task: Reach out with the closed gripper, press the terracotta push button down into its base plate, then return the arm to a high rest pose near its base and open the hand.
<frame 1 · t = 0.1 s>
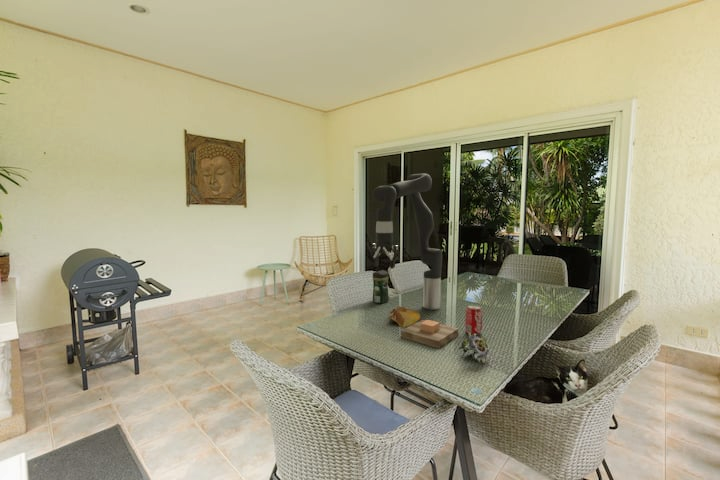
hand: (384, 267, 153), 29 cm above the table, tool pointing down, fingers open, 8 cm apart
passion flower: (472, 359, 127), on the table
soda can: (473, 333, 152), on the table
button plate: (429, 336, 148), on the table
coffee jar: (380, 301, 202), on the table
push button: (429, 326, 148), point 4 cm above the table, slide at 0.0 cm
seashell: (402, 322, 168), on the table
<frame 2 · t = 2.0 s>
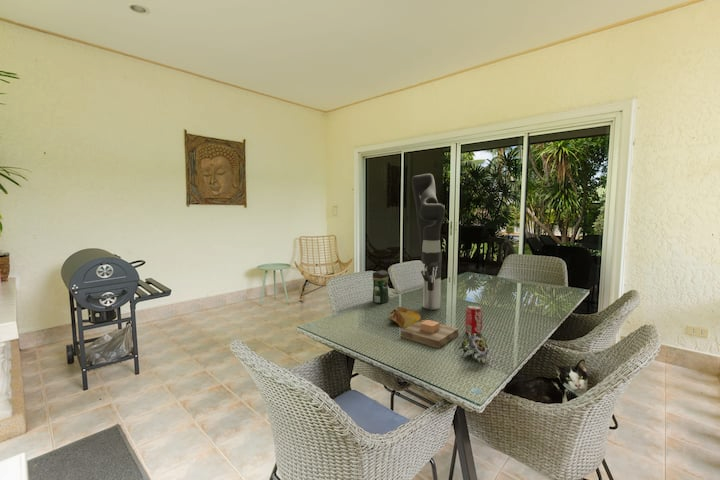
hand: (430, 290, 146), 20 cm above the table, tool pointing down, fingers closed
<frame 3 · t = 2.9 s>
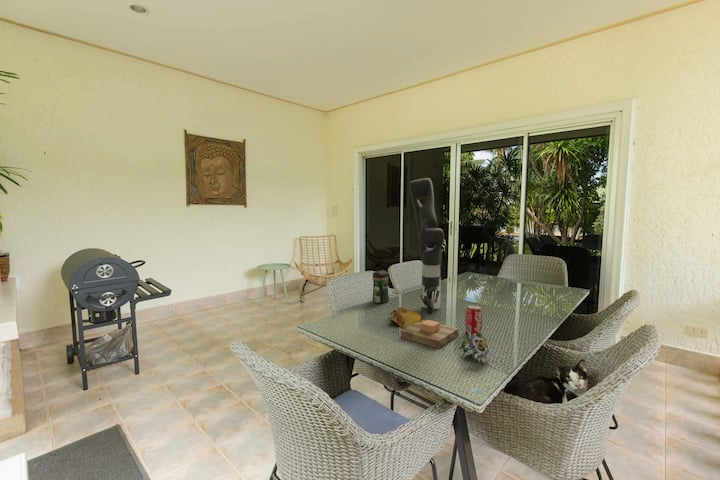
hand: (430, 313, 147), 10 cm above the table, tool pointing down, fingers closed
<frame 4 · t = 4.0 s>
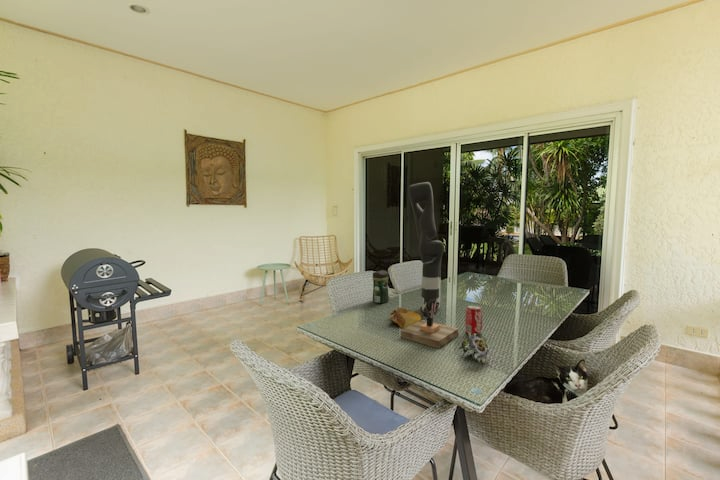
hand: (429, 325, 148), 5 cm above the table, tool pointing down, fingers closed
push button: (429, 329, 148), point 3 cm above the table, slide at 1.2 cm, touching gripper
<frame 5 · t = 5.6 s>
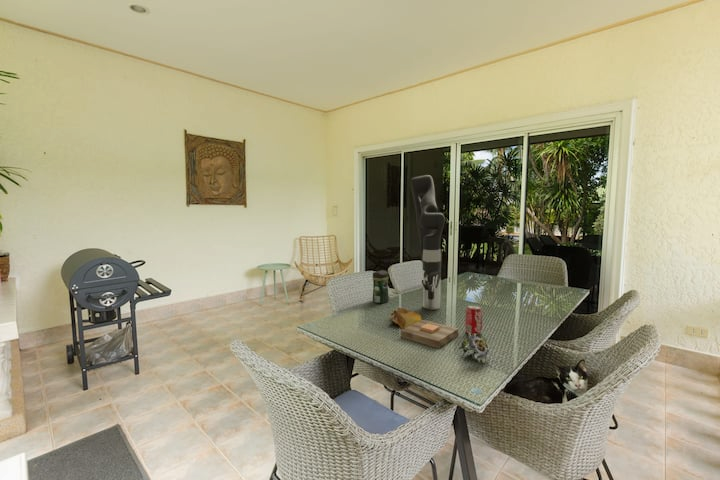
hand: (431, 299, 147), 17 cm above the table, tool pointing down, fingers closed
push button: (429, 330, 148), point 3 cm above the table, slide at 1.7 cm
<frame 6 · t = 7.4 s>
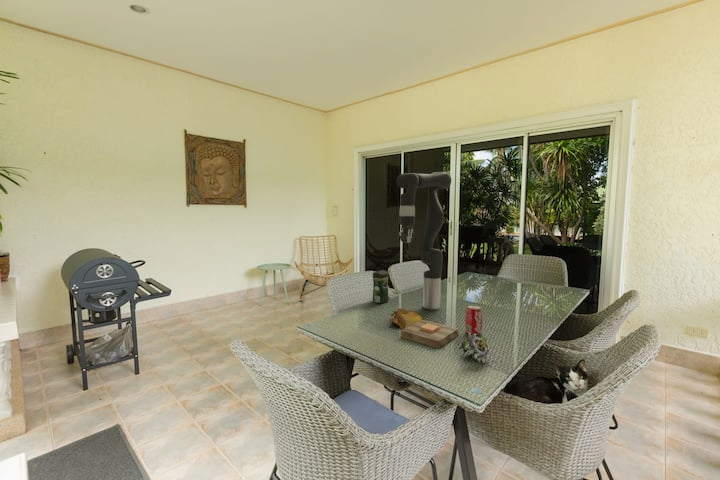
hand: (406, 250, 167), 35 cm above the table, tool pointing down, fingers closed
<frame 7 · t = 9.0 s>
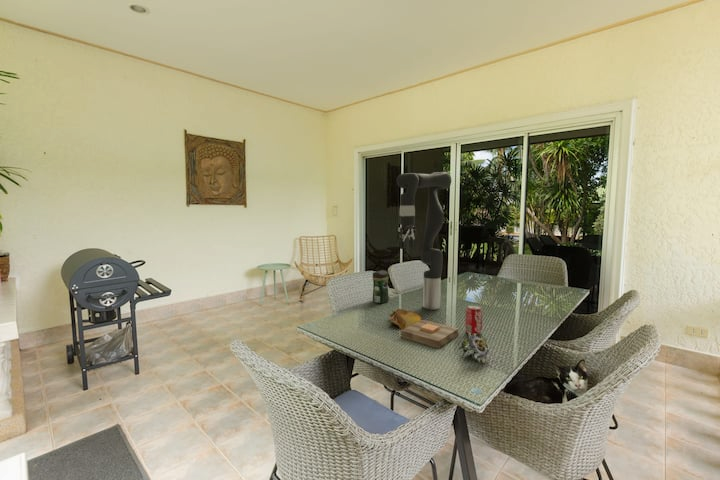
hand: (406, 248, 167), 36 cm above the table, tool pointing down, fingers open, 8 cm apart
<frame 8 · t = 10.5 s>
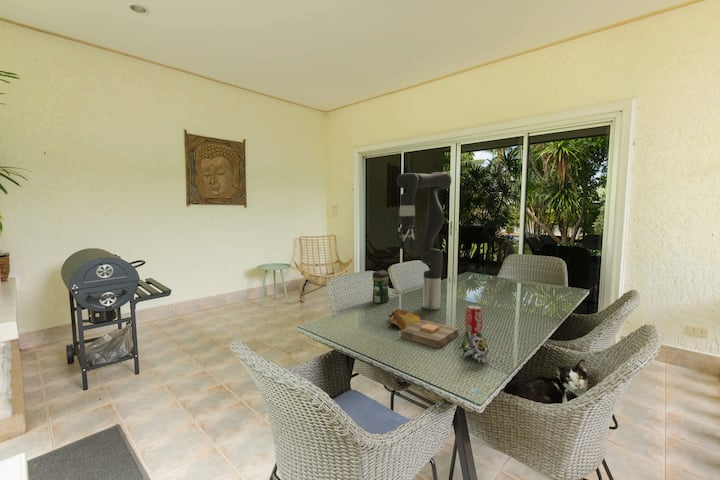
hand: (406, 248, 167), 36 cm above the table, tool pointing down, fingers open, 8 cm apart
at the end: push button slide at 1.7 cm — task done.
